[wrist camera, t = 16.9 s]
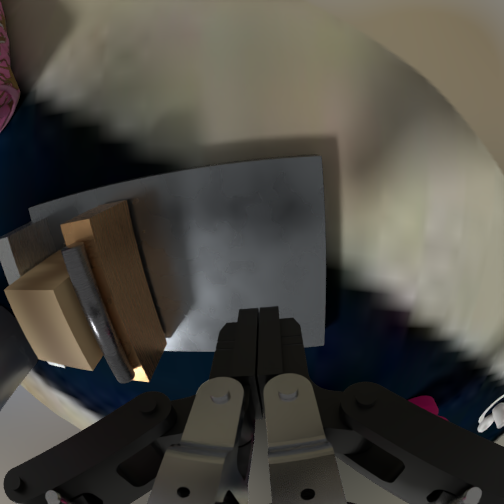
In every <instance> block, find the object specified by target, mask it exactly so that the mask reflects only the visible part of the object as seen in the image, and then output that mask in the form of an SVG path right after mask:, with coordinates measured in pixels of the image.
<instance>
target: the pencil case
mask: <svg viewBox="0 0 504 504" xmlns="http://www.w3.org/2000/svg"><path fill="white" fill-rule="evenodd" d="M9 44H10V43H9V39H8V37H7V30H6V20H5V15H4V11H3V8H2V4H1V1H0V132H1V131H2V130H3V129H4V127H5V126H6V125H7V123H8V122H9V120H10V118H11V117H12V115H13V113H14V111H15V108H16V106H17V104H18V101H19V98H20V90H19V87H18V84H17V82H16V80H15V78H14V75H13V73H12V71H11V68H10V49H9Z"/></svg>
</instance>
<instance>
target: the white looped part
mask: <svg viewBox="0 0 504 504" xmlns="http://www.w3.org/2000/svg"><path fill="white" fill-rule="evenodd" d="M503 397H504V394H503V395H502V396H501V397H499V398H498V399H497V400H496V401H495V402H493V403H492V404H491V405H490V406H489V407H488V408H487V409H486V410H485V412H484V413H483V414H482V415H481V417H480V418H479V423H480V424H479V426H478V431H479V432H483V431H485V430H486V429H487V428H488V427H489V426H490V425H491V424H492V423H493V421H494V420H495V423H496V425H497V428H501V427H502V426H504V403H502V402H501V403H499V404H498V405H496V406H495V407H494V408H493V410H492V414H491V415H488V416H487V417H485V418H484V416H485V414H486V412H487V411H488V410H489V409H490V408H491V407H492V406H493V405H494V404H495V403H496V402H497V401H498V400H500V399H501V398H503Z"/></svg>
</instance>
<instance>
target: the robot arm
mask: <svg viewBox="0 0 504 504" xmlns="http://www.w3.org/2000/svg"><path fill="white" fill-rule="evenodd" d="M36 363H37V355H36V354H35V352H34V350H33V349H32V347H31V345H30V343H29V342H28V340H27V338H26V336H25V334H24V332H23V330H22V328H21V326H20V324H19V322H18V321H17V320H16V318H15V317H14V316H13V315H12V314H11V313H10V312H9V311H8V310H6V309H5V308H4V307H2V306H0V411H1V409H2V408H3V406H4V405H5V404H6V402H7V401H8V400H9V398H10V397H11V395H12V394H13V393H14V391H15V390H16V388H17V387H18V386H19V385H20V383H21V382H22V381H23V380H24V378H25V377H26V376H27V374H28V373H29V372H30V371H31V369H32V368H33V367H34V366H35V364H36ZM263 412H264V418H265V419H266V427H267V439H268V463H269V474H270V485H271V497H272V503H271V504H355V503H351V502H346V498H345V494H344V489H343V486H342V481H341V478H340V473H339V470H338V465H337V461H336V458H335V456H337V457H338V458H339V459H340V460H342V461H343V462H345V463H346V464H347V465H349V466H350V467H352V468H353V469H355V470H356V471H357V472H359V473H360V474H362V475H364V476H365V477H366V478H368V479H369V480H371V481H372V482H374V483H375V484H377V485H379V486H380V487H382V488H383V489H385V490H387V491H388V492H390V493H392V494H393V495H395V496H397V497H398V498H400V499H402V500H403V501H405V502H407V503H409V504H504V447H503V446H501V445H498V444H496V443H494V442H492V441H489V440H487V439H485V438H483V437H480V436H478V435H476V434H474V433H472V432H470V431H467V430H465V429H463V428H461V427H459V426H457V425H455V424H453V423H451V422H449V421H447V420H445V419H443V418H441V417H439V416H437V415H435V414H433V413H431V412H429V411H427V410H425V409H423V408H421V407H419V406H417V405H415V404H413V403H412V402H410V401H408V400H406V399H404V398H402V397H400V396H399V395H397V394H395V393H393V392H391V391H389V390H388V389H386V388H384V387H382V386H380V385H378V384H376V383H372V382H359V383H356V384H353V385H351V386H349V387H348V388H347V389H346V390H345V391H344V392H339V391H331V390H326V389H322V388H320V387H318V386H317V385H315V384H314V383H313V382H312V381H311V379H310V377H309V375H308V369H307V363H306V357H305V350H304V345H303V338H302V333H301V327H300V324H299V323H298V322H297V321H296V320H295V319H294V318H283V319H279V307H278V306H272V307H260V309H259V308H248V309H239V313H238V320H237V322H230V323H226V324H225V325H224V326H223V328H222V329H221V330H220V331H219V336H218V340H217V345H216V351H215V354H214V358H213V363H212V368H211V372H210V377H209V380H208V381H206V382H205V383H203V384H202V385H201V386H200V388H199V389H198V391H197V394H196V395H193V396H191V397H187V398H183V399H178V400H173V401H170V400H169V398H168V397H167V396H166V395H165V394H163V393H160V392H146V393H143V394H140V395H139V396H137V397H135V398H134V399H132V400H131V401H129V402H128V403H126V404H125V405H123V406H121V407H120V408H118V409H117V410H115V411H114V412H112V413H110V414H109V415H107V416H105V417H104V418H102V419H101V420H99V421H97V422H96V423H94V424H92V425H91V426H89V427H87V428H86V429H84V430H82V431H81V432H79V433H77V434H76V435H74V436H72V437H70V438H69V439H67V440H65V441H64V442H62V443H60V444H58V445H57V446H54V447H53V448H51V449H49V450H47V451H45V452H43V453H42V454H40V455H38V456H36V457H34V458H32V459H30V460H28V461H27V462H24V463H23V464H21V465H19V466H17V467H15V468H13V469H11V470H10V471H8V473H7V474H6V476H5V478H4V490H5V493H6V495H7V496H8V497H9V499H10V500H12V501H13V502H15V503H16V504H130V503H132V502H133V501H135V500H136V499H138V498H140V497H141V496H143V495H144V494H146V493H147V492H149V491H150V490H152V491H151V493H150V496H149V499H148V502H147V504H248V499H249V491H248V481H249V474H250V468H251V461H252V454H253V447H254V440H255V436H254V433H255V419H263Z"/></svg>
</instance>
